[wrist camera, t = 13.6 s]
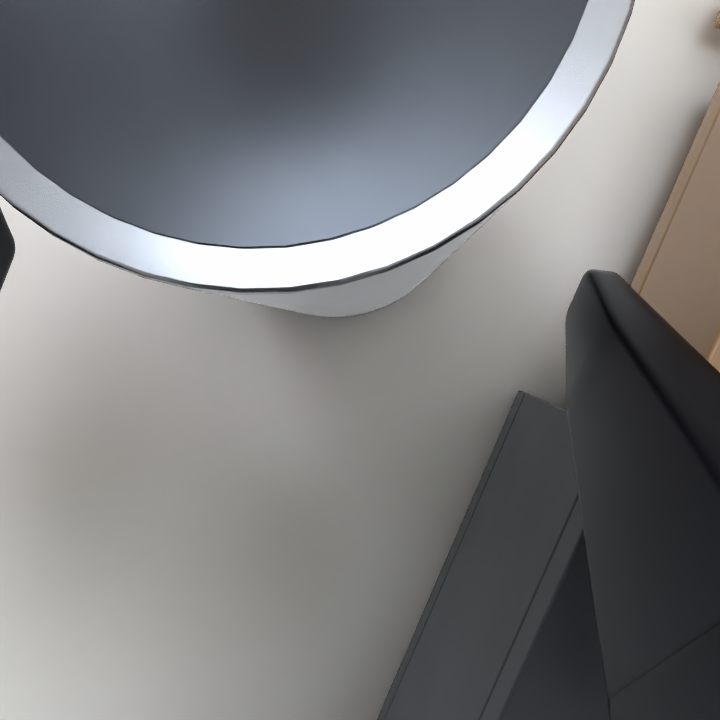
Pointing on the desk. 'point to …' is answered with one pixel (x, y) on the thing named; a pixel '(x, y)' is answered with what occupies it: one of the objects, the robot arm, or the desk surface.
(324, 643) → the desk surface
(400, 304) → the desk surface
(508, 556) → the organizer
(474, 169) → the steel cup
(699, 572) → the robot arm
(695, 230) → the drawer
